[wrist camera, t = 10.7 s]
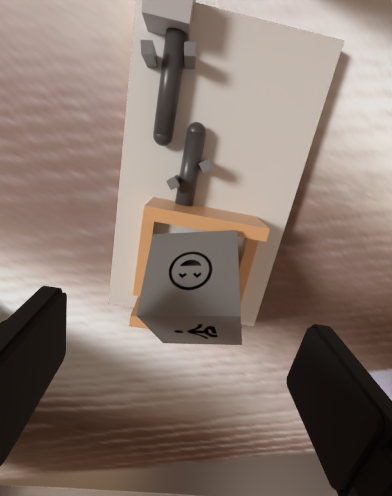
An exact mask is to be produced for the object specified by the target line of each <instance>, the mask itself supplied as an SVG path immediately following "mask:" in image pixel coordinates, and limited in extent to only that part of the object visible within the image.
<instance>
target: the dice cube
mask: <svg viewBox="0 0 392 496" xmlns="http://www.w3.org/2000/svg"><path fill="white" fill-rule="evenodd" d="M136 316H137V317H138V318H139V319H140V320H141V321H142V322H143V323H144V324H145V325H146V326H147V327H148V328H149V329H150V330H151V331H152V332H153V333H154V334H155V335H156V336H157V337H158V338H159V339H160V340H161V341H162V342H163V343H182V344H225V345H242V335H241V310H240V284H239V260H238V236H237V230H228V231H208V232H189V233H169V234H153V235H152V240H151V245H150V250H149V255H148V260H147V265H146V270H145V275H144V280H143V285H142V290H141V294H140V299H139V304H138V309H137V314H136Z"/></svg>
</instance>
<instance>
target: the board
mask: <svg viewBox="0 0 392 496" xmlns="http://www.w3.org/2000/svg"><path fill="white" fill-rule="evenodd" d="M343 43H344V40H340V39H336V38H332V37H328V36H324V35H320V34H316V33H313V32H309V31H305V30H301V29H297V28H293V27H289V26H285V25H281V24H277V23H274V22H270V21H266V20H262V19H258V18H254V17H250V16H246V15H242V14H238V13H235V12H231V11H227V10H223V9H219V8H215V7H211V6H207V5H203V4H199V3H196V0H136V7H135V18H134V29H133V40H132V51H131V62H130V73H129V84H128V95H127V106H126V117H125V128H124V139H123V150H122V161H121V172H120V183H119V194H118V205H117V216H116V227H115V238H114V249H113V260H112V271H111V282H110V293H109V304H110V305H117V306H124V307H130V308H133V311H132V314H131V317H130V325H129V326H133V327H140V328H146V329H149V328H148V327H147V326H146V325H145V324H144V323H143V322H142V321H141V320H140V319H139V318H138V317H137V316H136V314H137V309H138V304H139V299H140V294H141V290H142V285H143V280H144V275H145V270H146V265H147V260H148V255H149V250H150V245H151V240H152V235H153V234H169V233H189V232H208V231H228V230H237V236H238V260H239V284H240V310H241V324H242V325H249V326H254V324H255V321H256V318H257V314H258V311H259V308H260V305H261V302H262V299H263V296H264V292H265V289H266V286H267V283H268V280H269V277H270V273H271V270H272V267H273V264H274V261H275V258H276V255H277V251H278V248H279V245H280V242H281V239H282V236H283V233H284V229H285V226H286V223H287V220H288V217H289V214H290V210H291V207H292V204H293V201H294V198H295V195H296V192H297V188H298V185H299V182H300V179H301V176H302V173H303V169H304V166H305V163H306V160H307V157H308V154H309V151H310V147H311V144H312V141H313V138H314V135H315V132H316V129H317V125H318V122H319V119H320V116H321V113H322V110H323V106H324V103H325V100H326V97H327V94H328V91H329V88H330V84H331V81H332V78H333V75H334V72H335V69H336V65H337V62H338V59H339V56H340V53H341V50H342V47H343Z"/></svg>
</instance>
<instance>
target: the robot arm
mask: <svg viewBox="0 0 392 496" xmlns="http://www.w3.org/2000/svg"><path fill="white" fill-rule="evenodd" d="M66 304H67V296H66V293H62V290H61V288H55V287H48V286H43V287H41V288H40V289H39V290H38V291H37V292H36V293H35V294H34V295H33V296H32V297H30V298H29V299H28V300H27V301H26V302H25V303H24V304H23V305H22V306H21V307H20V308H19V309H18V310H17V311H16V312H15V313H14V314H13V315H11V316H10V317H9V318H8V319H7V320H5V321H3V322H2V323H0V466H1V465H2V464H3V463H4V461H5V459H6V458H7V456H8V454H9V453H10V451H11V449H12V448H13V446H14V444H15V442H16V441H17V439H18V437H19V436H20V434H21V432H22V430H23V429H24V427H25V425H26V424H27V422H28V420H29V418H30V417H31V415H32V413H33V411H34V410H35V408H36V406H37V405H38V403H39V401H40V399H41V398H42V396H43V394H44V393H45V391H46V389H47V387H48V386H49V384H50V382H51V381H52V379H53V377H54V375H55V374H56V372H57V370H58V369H59V367H60V365H61V363H62V362H63V359H64V357H65V353H66ZM287 386H288V389H289V391H290V394H291V396H292V398H293V400H294V403H295V405H296V407H297V410H298V412H299V414H300V417H301V419H302V421H303V423H304V426H305V428H306V430H307V433H308V435H309V437H310V439H311V442H312V444H313V446H314V449H315V451H316V453H317V456H318V458H319V460H320V462H321V465H322V467H323V469H324V471H325V474H326V476H327V479H328V480H329V483H330V485H331V486H332V487H333V488H334V489H335V490H336V491H337V493H338V496H392V401H391V399H390V398H389V397H388V396H387V395H386V393H385V392H384V391H383V390H382V389H381V387H380V386H379V385H378V384H377V383H376V381H375V380H374V379H373V378H372V377H371V375H370V374H369V373H368V372H367V371H366V369H365V368H364V367H363V366H362V364H361V363H360V362H359V361H358V360H357V358H356V357H355V356H354V355H353V354H352V352H351V351H350V350H349V349H348V348H347V346H346V345H345V344H344V343H343V342H342V340H341V339H340V338H339V337H338V335H337V334H336V333H335V332H334V331H333V329H332V328H331V327H329V326H324V325H317V324H314V325H312V326H311V327H309V328H308V329H307V331H306V333H305V335H304V338H303V340H302V343H301V345H300V347H299V350H298V352H297V354H296V357H295V359H294V362H293V364H292V366H291V369H290V371H289V373H288V376H287ZM0 496H202V495H184V494H168V493H150V492H132V491H115V490H96V489H79V488H59V487H32V486H31V487H30V486H1V485H0Z"/></svg>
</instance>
